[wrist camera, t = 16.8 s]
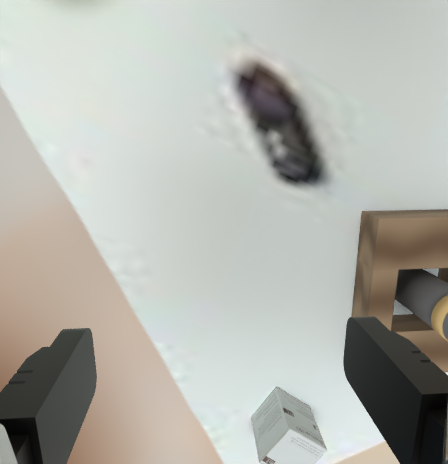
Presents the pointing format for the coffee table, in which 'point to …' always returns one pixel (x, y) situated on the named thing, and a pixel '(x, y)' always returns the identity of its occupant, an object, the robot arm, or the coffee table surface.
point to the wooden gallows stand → (400, 257)
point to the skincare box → (286, 431)
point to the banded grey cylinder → (424, 297)
